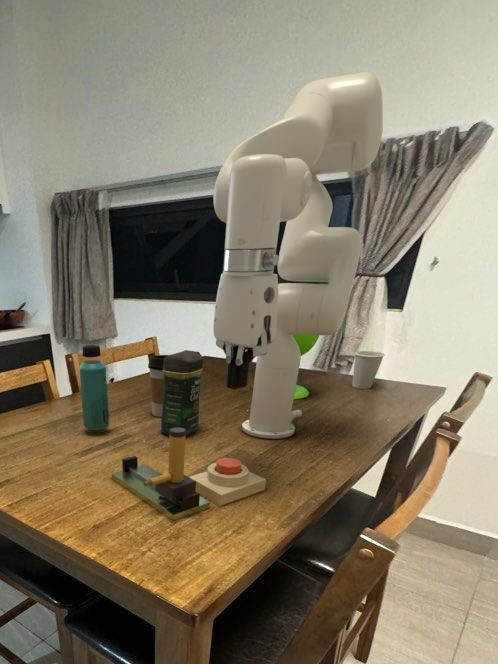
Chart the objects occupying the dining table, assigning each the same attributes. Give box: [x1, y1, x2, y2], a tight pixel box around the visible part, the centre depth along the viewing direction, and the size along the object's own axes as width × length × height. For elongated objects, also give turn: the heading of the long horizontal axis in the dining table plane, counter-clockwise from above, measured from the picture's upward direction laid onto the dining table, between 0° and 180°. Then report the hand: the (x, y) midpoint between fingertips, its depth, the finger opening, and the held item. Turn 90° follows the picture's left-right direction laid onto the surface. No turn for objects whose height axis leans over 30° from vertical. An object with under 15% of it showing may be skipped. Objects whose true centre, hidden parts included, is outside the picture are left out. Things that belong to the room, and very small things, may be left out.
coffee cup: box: [147, 354, 169, 418], centre depth 119 cm, size 8×8×15 cm
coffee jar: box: [160, 349, 204, 437], centre depth 106 cm, size 10×8×19 cm
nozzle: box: [144, 427, 196, 504], centre depth 74 cm, size 9×5×12 cm, turn 123°
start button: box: [215, 457, 242, 475], centre depth 82 cm, size 4×4×2 cm
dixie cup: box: [351, 350, 385, 390], centre depth 141 cm, size 8×8×10 cm
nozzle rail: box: [111, 455, 211, 522], centre depth 82 cm, size 8×20×4 cm, turn 33°
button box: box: [188, 461, 267, 507], centre depth 83 cm, size 11×9×4 cm
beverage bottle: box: [78, 344, 110, 431], centre depth 106 cm, size 6×7×20 cm
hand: (236, 387), depth 78 cm, fingers closed
